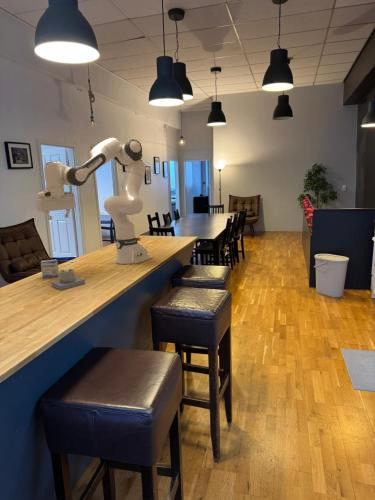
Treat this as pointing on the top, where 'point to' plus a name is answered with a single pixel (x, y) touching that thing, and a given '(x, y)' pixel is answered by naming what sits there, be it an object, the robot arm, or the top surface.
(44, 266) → the medicine box
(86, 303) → the top surface
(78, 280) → the shaft block
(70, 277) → the tube
